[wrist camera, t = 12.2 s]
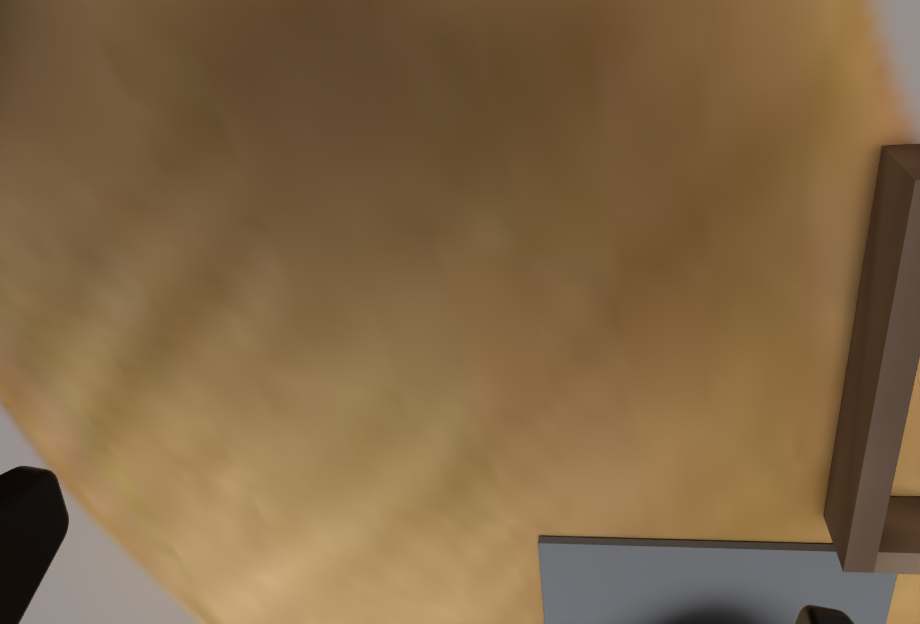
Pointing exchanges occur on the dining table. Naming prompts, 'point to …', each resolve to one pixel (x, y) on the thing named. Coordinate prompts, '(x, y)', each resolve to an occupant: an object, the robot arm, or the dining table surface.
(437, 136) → the dining table surface
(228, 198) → the dining table surface
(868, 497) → the walnut holder frame
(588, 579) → the charcoal mat
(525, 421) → the dining table surface
